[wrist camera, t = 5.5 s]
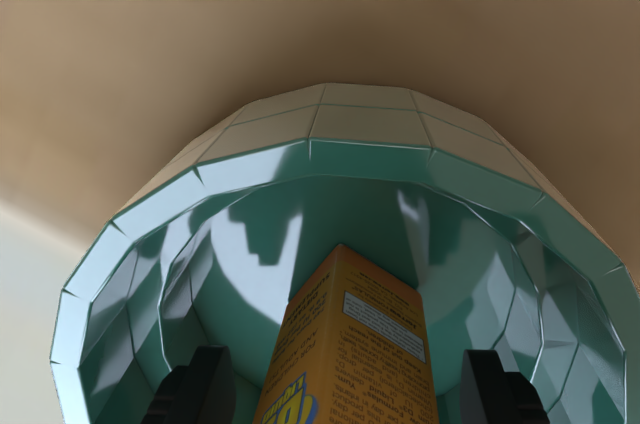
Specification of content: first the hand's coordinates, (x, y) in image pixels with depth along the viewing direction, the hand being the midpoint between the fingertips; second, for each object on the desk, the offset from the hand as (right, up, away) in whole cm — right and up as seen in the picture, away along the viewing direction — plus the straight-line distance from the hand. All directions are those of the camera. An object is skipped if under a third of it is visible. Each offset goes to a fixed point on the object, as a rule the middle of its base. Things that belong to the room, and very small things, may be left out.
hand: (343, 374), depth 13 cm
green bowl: (0, +2, +3) cm, 4 cm away
